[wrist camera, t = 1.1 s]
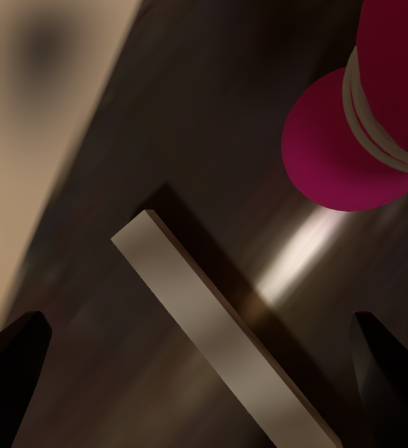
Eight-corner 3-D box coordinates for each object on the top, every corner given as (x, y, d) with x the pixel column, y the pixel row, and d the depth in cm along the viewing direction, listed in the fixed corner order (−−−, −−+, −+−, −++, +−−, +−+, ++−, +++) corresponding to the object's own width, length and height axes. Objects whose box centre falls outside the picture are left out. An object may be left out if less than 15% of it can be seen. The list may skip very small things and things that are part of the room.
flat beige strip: (340, 439, 22) (348, 461, 20) (304, 463, 23) (308, 487, 21) (153, 209, 24) (144, 209, 22) (122, 236, 24) (110, 239, 22)
